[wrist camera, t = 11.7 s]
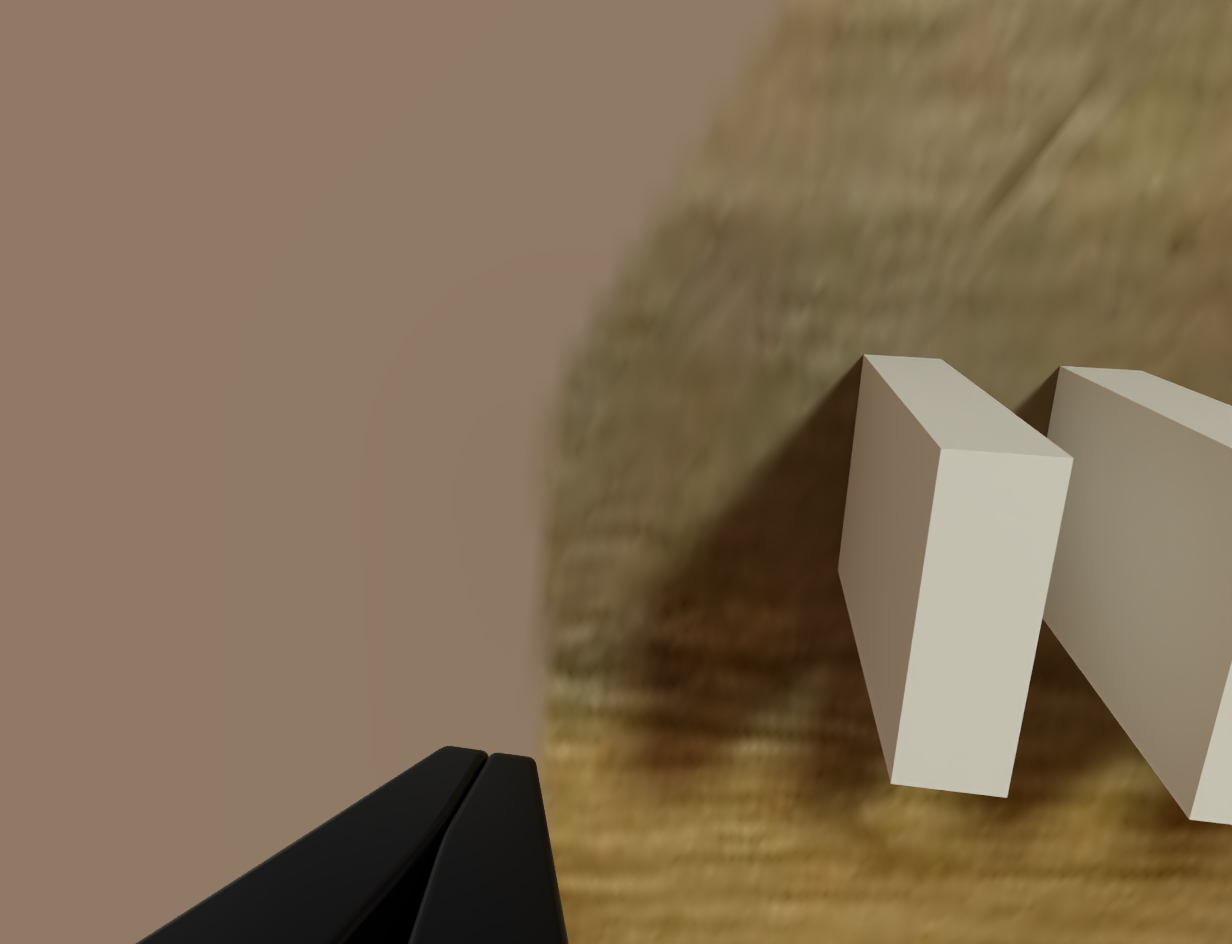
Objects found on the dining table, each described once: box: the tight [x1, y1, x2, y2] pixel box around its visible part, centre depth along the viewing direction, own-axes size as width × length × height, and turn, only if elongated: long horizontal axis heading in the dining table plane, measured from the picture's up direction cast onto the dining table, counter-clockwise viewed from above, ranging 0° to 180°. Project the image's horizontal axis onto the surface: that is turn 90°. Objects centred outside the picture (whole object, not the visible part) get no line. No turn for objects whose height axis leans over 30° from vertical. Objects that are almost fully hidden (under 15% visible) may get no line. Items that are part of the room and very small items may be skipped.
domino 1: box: [838, 355, 1074, 798], centre depth 15 cm, size 2×5×8 cm, turn 178°
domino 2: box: [1042, 366, 1232, 825], centre depth 15 cm, size 2×5×8 cm, turn 178°
